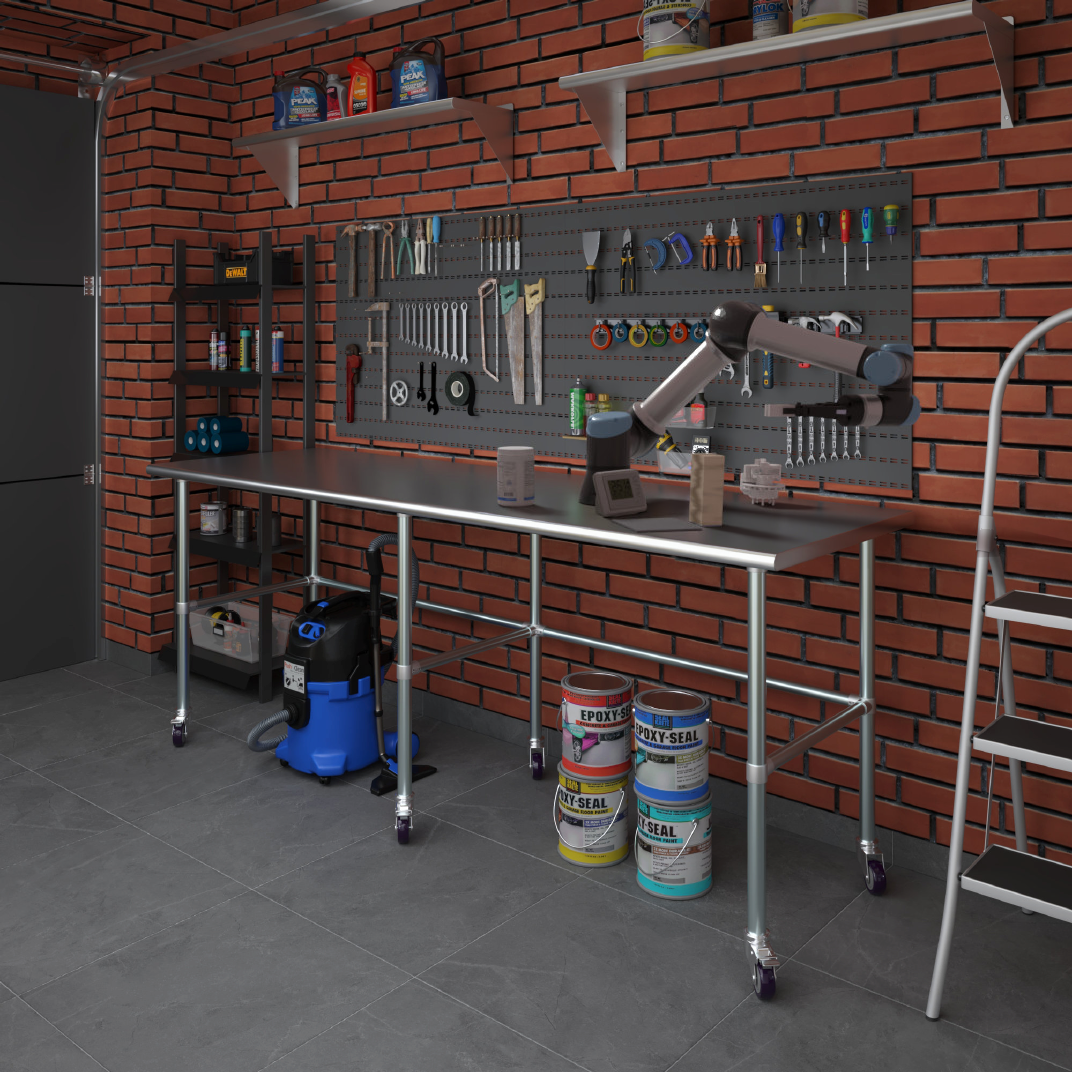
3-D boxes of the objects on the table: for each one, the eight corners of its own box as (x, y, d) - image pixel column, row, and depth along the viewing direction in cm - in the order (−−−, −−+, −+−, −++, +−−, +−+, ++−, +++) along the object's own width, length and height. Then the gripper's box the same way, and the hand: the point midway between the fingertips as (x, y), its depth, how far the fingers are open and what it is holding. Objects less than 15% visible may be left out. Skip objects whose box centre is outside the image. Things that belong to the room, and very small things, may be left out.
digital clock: (603, 518, 246) (604, 474, 244) (581, 514, 253) (581, 470, 251) (656, 514, 255) (657, 470, 253) (632, 509, 262) (633, 467, 260)
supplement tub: (526, 501, 273) (527, 445, 270) (539, 506, 264) (540, 448, 262) (491, 503, 270) (492, 446, 267) (503, 508, 261) (504, 449, 258)
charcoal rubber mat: (611, 521, 241) (611, 519, 241) (673, 519, 246) (673, 517, 246) (636, 532, 226) (636, 530, 226) (701, 530, 231) (702, 528, 230)
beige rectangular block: (688, 522, 242) (691, 453, 239) (708, 521, 243) (711, 453, 241) (701, 526, 235) (704, 456, 233) (721, 526, 237) (724, 456, 234)
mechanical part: (757, 507, 267) (759, 461, 265) (732, 501, 278) (734, 457, 276) (793, 506, 271) (796, 460, 269) (767, 500, 282) (769, 456, 280)
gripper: (873, 428, 239) (781, 428, 233) (839, 424, 252) (752, 424, 246) (875, 395, 238) (783, 395, 232) (841, 393, 251) (753, 393, 245)
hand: (767, 410), depth 239 cm, fingers closed
